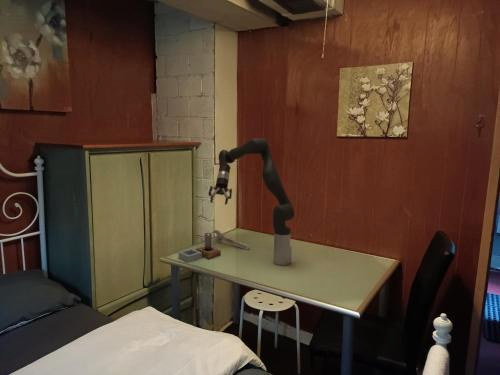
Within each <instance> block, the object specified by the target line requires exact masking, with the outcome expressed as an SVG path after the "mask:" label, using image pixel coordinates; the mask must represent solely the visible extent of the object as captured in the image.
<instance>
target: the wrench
mask: <svg viewBox="0 0 500 375" xmlns="http://www.w3.org/2000/svg"><path fill="white" fill-rule="evenodd" d="M211 234H215V235H216V237H213V240H214V241H215V242H217V243H218V244H221V243H222V242H225V243H228V244H230V245H233V246H235V247H237V248H240V249H242V250H245V251H249V250H250V248H251V247H250V245H248V244H246V243H244V242H240V241H237V240H235V239H232V238H230V237H227V236H226V235H224V233H222V232H221V231H220V230H219V229H214V230H213V231H212V233H211Z"/></svg>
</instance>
